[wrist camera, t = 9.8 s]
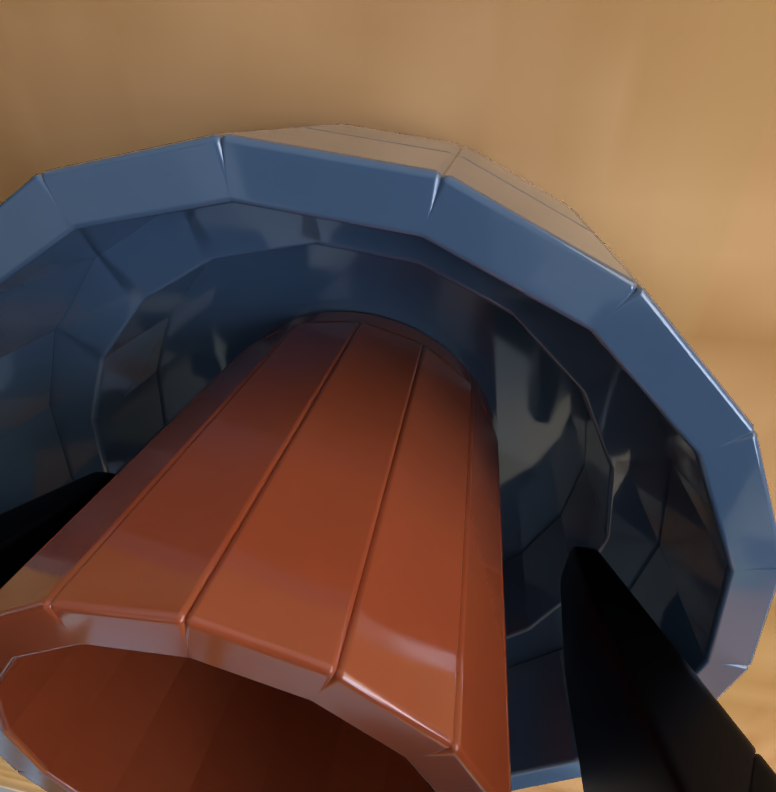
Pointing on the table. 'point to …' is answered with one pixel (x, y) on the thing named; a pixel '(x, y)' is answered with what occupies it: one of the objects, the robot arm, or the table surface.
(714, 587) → the bowl
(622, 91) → the table surface
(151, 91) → the table surface
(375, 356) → the pot
